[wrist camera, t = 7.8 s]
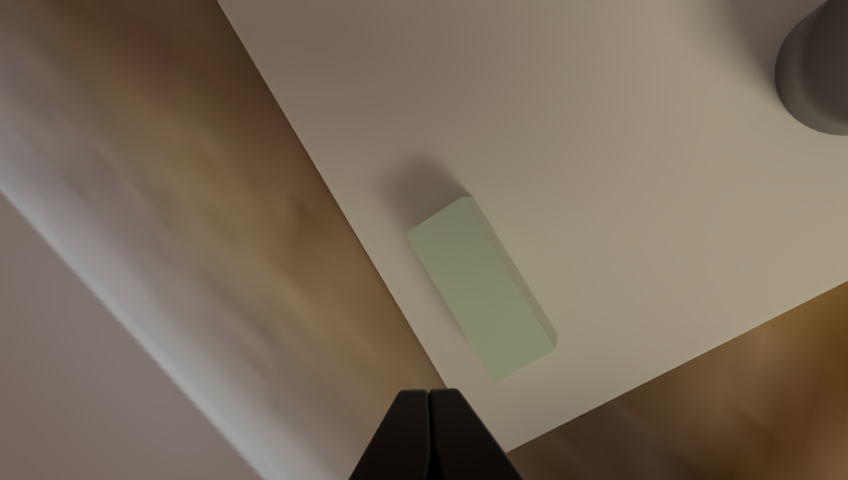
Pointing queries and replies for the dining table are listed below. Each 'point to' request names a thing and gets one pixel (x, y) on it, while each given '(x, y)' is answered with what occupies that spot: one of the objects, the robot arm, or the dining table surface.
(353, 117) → the base plate
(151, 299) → the dining table surface
